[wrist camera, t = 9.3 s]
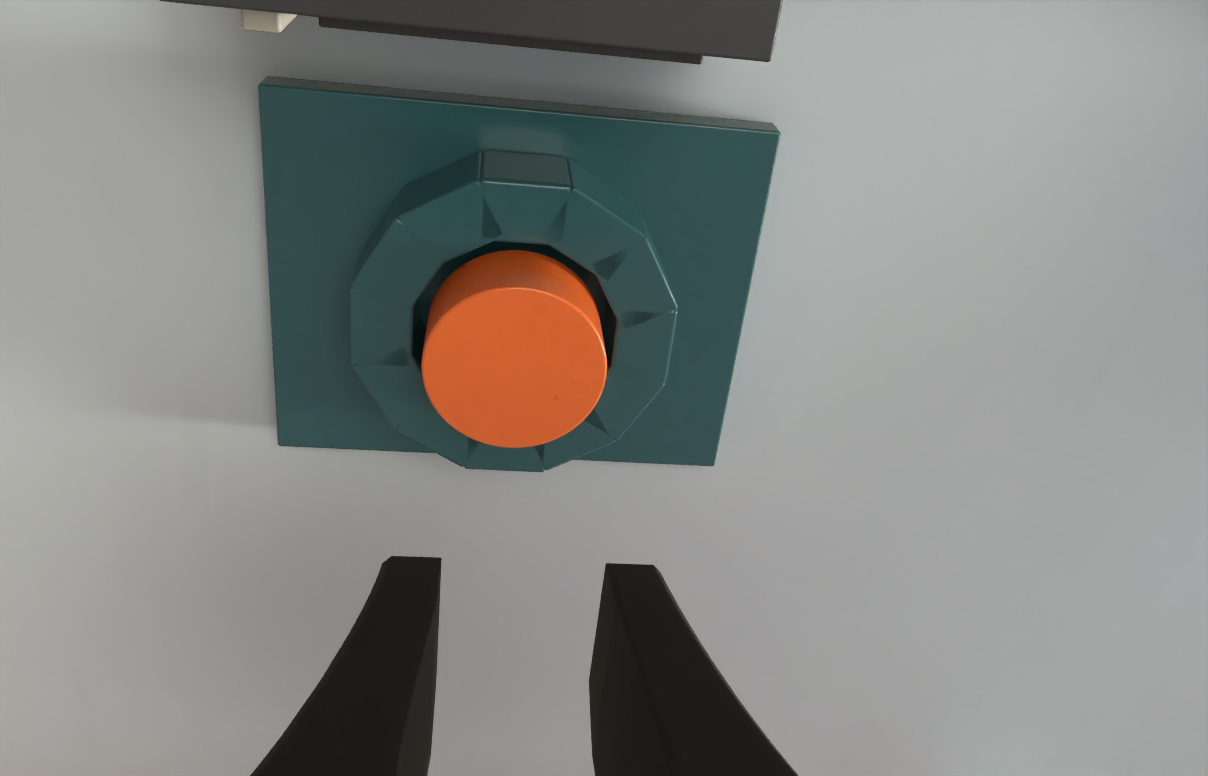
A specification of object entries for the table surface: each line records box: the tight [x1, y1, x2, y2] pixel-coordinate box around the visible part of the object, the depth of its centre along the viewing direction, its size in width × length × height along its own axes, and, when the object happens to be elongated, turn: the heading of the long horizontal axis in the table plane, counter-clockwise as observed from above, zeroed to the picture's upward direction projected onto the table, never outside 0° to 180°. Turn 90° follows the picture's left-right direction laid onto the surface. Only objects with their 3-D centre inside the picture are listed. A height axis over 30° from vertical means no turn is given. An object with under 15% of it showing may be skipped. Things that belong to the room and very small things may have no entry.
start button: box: [421, 250, 607, 448], centre depth 19 cm, size 3×3×2 cm
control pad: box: [258, 76, 780, 472], centre depth 21 cm, size 10×8×2 cm
